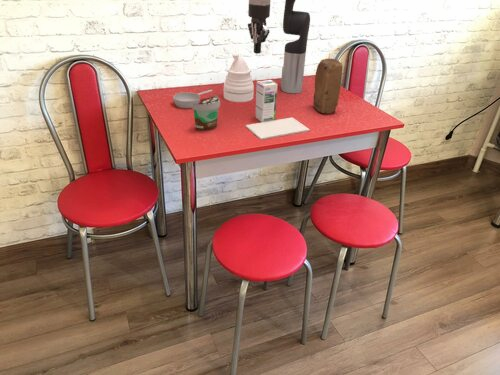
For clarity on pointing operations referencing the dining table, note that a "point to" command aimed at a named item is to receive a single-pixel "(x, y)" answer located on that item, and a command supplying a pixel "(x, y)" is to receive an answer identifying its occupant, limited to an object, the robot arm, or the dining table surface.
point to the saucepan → (187, 99)
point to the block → (327, 85)
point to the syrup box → (266, 100)
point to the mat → (277, 128)
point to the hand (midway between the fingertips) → (257, 53)
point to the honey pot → (238, 81)
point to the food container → (206, 113)
